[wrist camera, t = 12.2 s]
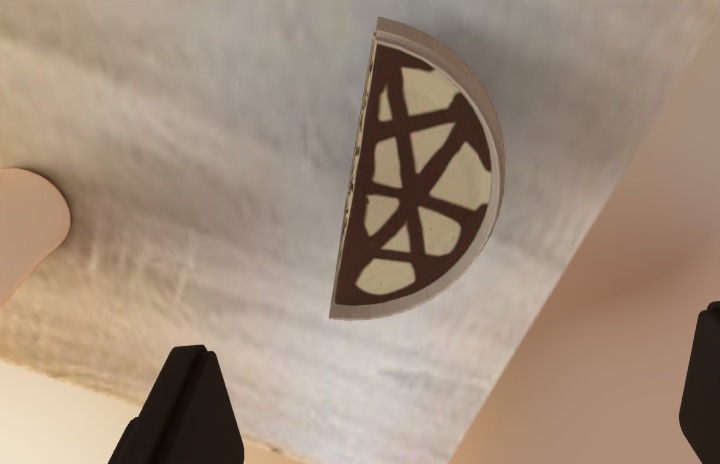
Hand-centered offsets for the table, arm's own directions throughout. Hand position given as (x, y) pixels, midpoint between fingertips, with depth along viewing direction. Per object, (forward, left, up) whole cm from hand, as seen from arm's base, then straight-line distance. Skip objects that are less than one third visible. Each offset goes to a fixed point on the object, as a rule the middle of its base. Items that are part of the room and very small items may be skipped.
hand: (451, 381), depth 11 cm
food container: (0, -1, -21) cm, 21 cm away
